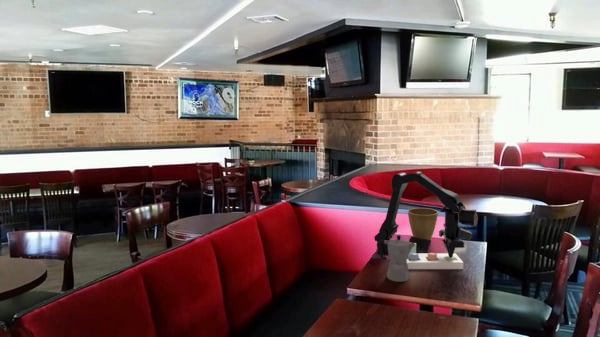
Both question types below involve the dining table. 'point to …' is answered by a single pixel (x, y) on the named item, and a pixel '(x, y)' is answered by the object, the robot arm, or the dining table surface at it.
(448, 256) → the sage green button
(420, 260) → the button panel
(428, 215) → the plant pot
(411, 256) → the slate blue button
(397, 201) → the robot arm
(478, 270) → the dining table surface
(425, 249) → the handheld gaming console
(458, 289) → the dining table surface
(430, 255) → the terracotta button
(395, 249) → the coffeepot
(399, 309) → the dining table surface
